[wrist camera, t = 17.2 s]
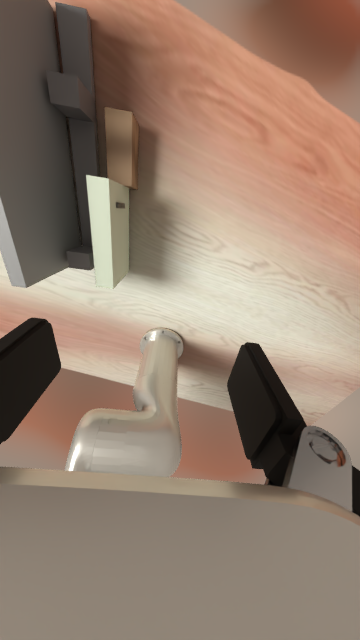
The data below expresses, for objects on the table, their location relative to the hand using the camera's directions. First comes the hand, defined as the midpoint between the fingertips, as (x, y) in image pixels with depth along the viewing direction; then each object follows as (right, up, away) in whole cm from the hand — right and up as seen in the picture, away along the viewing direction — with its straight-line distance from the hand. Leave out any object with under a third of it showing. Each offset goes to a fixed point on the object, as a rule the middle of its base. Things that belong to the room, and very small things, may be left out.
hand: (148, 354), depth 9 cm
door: (-11, +20, +30) cm, 38 cm away
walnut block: (-8, +31, +24) cm, 40 cm away
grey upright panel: (-17, +30, +25) cm, 42 cm away
